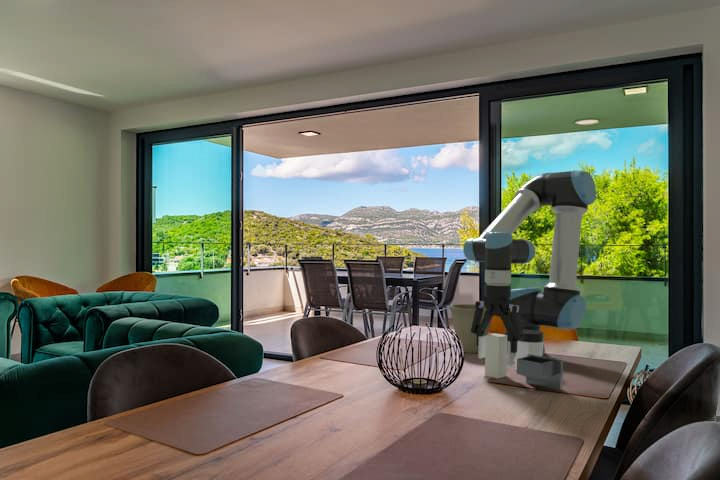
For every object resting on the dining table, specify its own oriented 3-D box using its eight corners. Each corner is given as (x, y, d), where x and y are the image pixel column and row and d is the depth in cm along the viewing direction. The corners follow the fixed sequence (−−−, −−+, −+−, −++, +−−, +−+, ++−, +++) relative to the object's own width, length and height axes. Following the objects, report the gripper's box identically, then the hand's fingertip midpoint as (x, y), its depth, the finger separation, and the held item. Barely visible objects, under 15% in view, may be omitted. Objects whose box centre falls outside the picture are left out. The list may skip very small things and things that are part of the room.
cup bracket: (528, 382, 155) (529, 353, 155) (562, 389, 148) (563, 360, 148) (512, 387, 149) (512, 358, 149) (546, 395, 142) (547, 365, 142)
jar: (549, 371, 168) (550, 332, 168) (534, 375, 163) (534, 335, 163) (524, 365, 175) (524, 328, 175) (508, 369, 170) (509, 330, 170)
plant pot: (447, 353, 191) (448, 307, 191) (452, 345, 205) (453, 303, 205) (491, 357, 187) (492, 310, 187) (493, 348, 201) (494, 305, 201)
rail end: (493, 373, 165) (494, 333, 165) (506, 376, 161) (507, 335, 161) (484, 375, 161) (485, 334, 161) (498, 378, 158) (499, 337, 158)
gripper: (459, 282, 166) (458, 356, 167) (524, 288, 151) (523, 369, 151) (473, 281, 172) (472, 352, 172) (538, 286, 156) (536, 365, 156)
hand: (495, 360), depth 161 cm, fingers open, 9 cm apart
